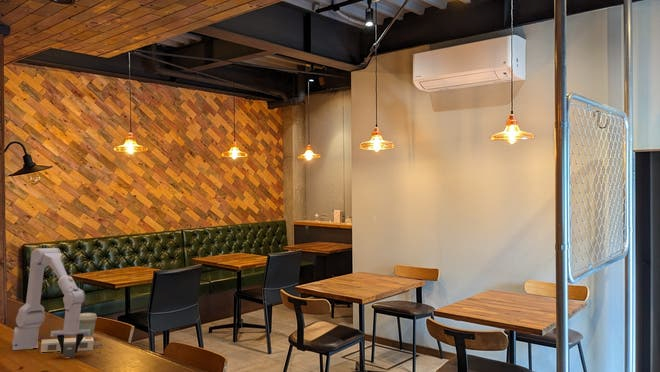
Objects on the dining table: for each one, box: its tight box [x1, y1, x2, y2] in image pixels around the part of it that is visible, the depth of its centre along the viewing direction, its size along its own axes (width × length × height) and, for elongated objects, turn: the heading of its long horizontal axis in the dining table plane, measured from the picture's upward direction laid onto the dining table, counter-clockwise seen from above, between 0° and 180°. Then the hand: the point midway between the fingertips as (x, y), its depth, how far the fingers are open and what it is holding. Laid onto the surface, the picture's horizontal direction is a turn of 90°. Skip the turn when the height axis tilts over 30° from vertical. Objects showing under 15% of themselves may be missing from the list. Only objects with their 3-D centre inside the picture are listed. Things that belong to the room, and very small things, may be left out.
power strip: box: [40, 337, 103, 353], centre depth 216 cm, size 24×7×4 cm, turn 120°
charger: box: [61, 343, 76, 359], centre depth 205 cm, size 4×6×5 cm
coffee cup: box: [79, 312, 98, 338], centre depth 232 cm, size 8×9×12 cm
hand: (68, 353), depth 204 cm, fingers closed on charger, 4 cm apart
